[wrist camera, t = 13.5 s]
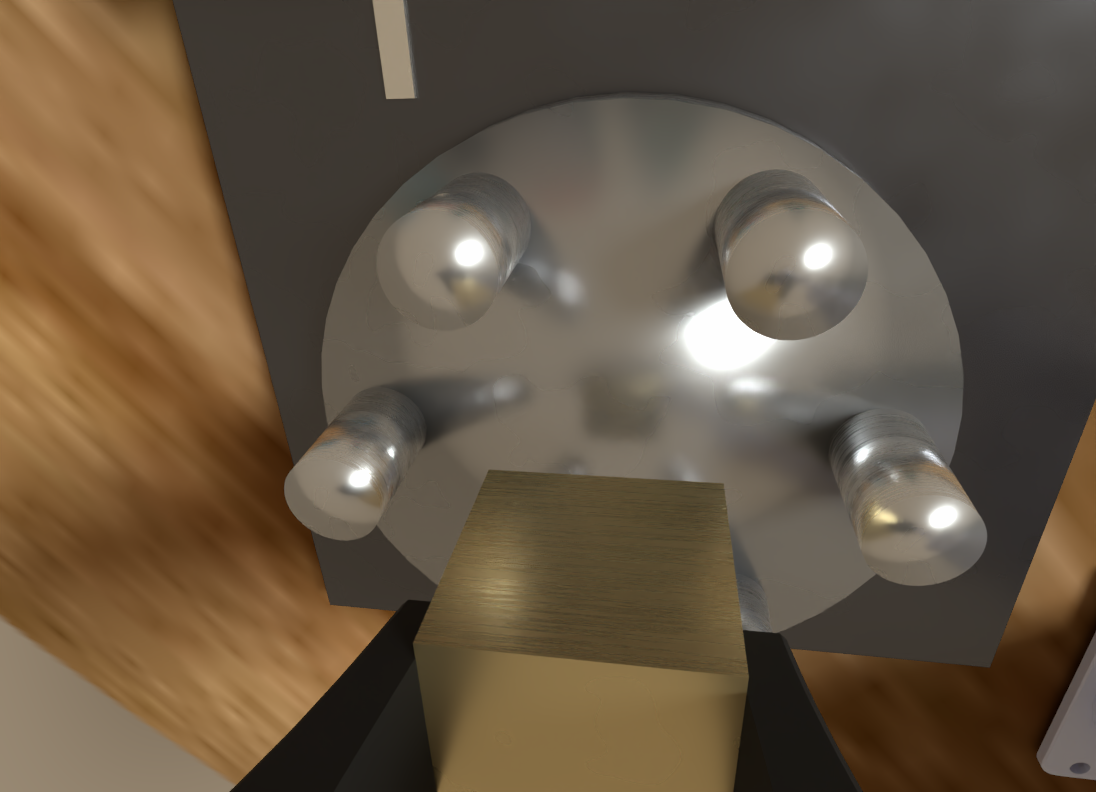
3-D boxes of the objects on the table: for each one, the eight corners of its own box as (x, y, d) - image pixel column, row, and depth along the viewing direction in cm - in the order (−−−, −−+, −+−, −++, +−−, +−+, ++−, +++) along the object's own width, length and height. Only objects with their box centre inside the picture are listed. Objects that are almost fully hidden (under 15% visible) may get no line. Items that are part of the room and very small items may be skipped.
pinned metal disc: (1027, 81, 12) (1182, 107, 8) (875, 643, 19) (924, 794, 15) (287, 101, 14) (154, 129, 10) (388, 598, 21) (329, 720, 17)
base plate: (1486, -717, 8) (1946, -1135, 5) (978, 644, 19) (1034, 757, 16) (81, -469, 11) (-132, -644, 8) (340, 586, 22) (289, 673, 19)
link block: (724, 483, 11) (749, 677, 8) (706, 658, 13) (721, 882, 10) (489, 469, 12) (412, 643, 8) (502, 638, 14) (445, 842, 10)
